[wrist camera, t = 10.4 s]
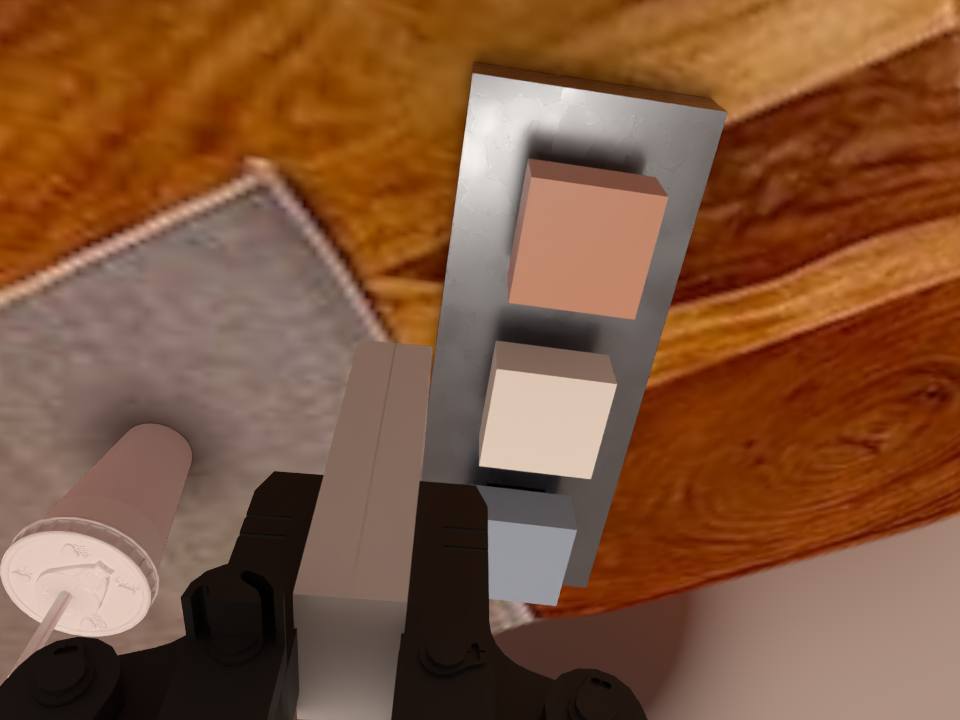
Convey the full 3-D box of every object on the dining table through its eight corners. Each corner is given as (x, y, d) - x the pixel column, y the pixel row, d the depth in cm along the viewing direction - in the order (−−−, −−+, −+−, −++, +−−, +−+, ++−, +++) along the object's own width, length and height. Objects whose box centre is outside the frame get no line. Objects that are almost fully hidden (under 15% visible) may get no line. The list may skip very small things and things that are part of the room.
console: (473, 61, 32) (472, 73, 30) (711, 98, 32) (727, 112, 30) (410, 536, 45) (406, 568, 42) (581, 555, 45) (586, 587, 43)
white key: (494, 313, 36) (496, 368, 32) (601, 327, 36) (617, 384, 32) (479, 403, 38) (478, 466, 34) (578, 415, 39) (590, 479, 34)
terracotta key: (524, 140, 32) (531, 177, 28) (643, 158, 32) (668, 197, 28) (505, 253, 34) (508, 302, 30) (615, 268, 35) (634, 319, 30)
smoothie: (70, 442, 41) (-100, 662, 29) (150, 380, 39) (3, 588, 27) (163, 515, 44) (41, 746, 32) (242, 460, 42) (145, 684, 30)
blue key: (471, 451, 40) (469, 517, 36) (566, 463, 40) (576, 530, 36) (458, 525, 42) (455, 595, 38) (548, 535, 43) (556, 605, 38)
